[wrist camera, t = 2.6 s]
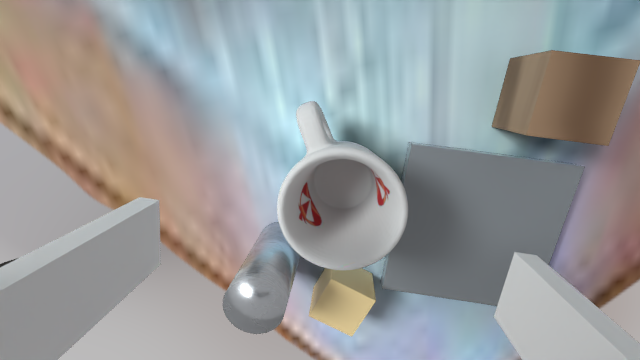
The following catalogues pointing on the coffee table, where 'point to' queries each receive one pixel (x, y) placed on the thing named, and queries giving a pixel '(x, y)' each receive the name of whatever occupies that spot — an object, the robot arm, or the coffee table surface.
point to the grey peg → (262, 283)
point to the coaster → (475, 220)
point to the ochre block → (343, 298)
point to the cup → (340, 200)
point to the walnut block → (564, 96)
